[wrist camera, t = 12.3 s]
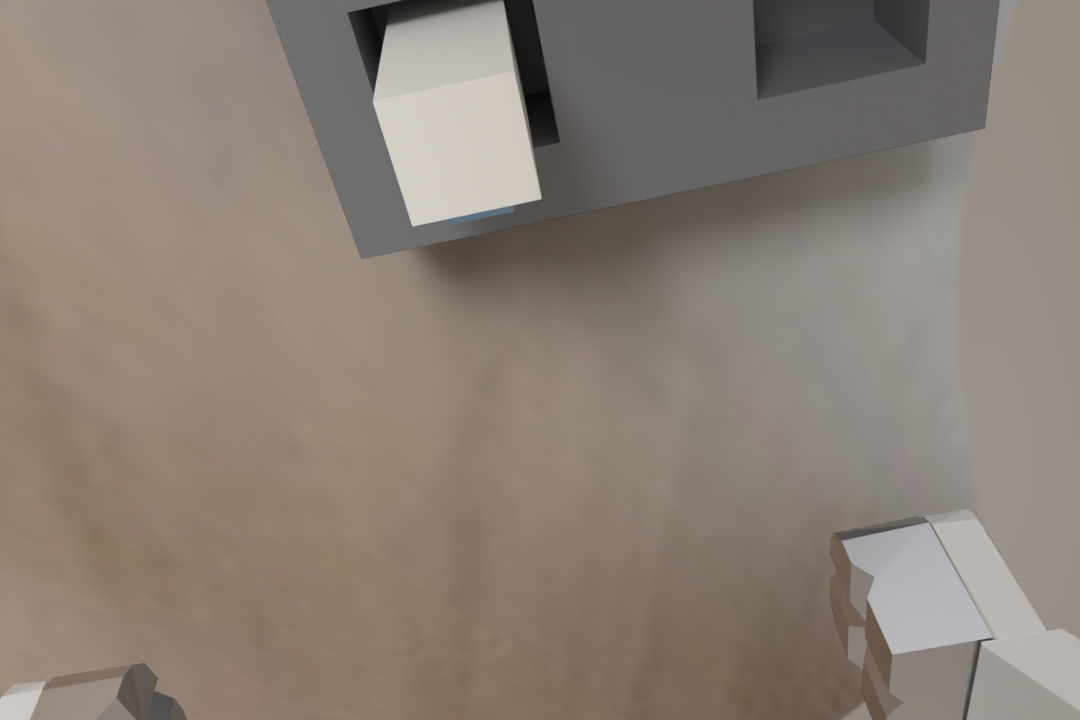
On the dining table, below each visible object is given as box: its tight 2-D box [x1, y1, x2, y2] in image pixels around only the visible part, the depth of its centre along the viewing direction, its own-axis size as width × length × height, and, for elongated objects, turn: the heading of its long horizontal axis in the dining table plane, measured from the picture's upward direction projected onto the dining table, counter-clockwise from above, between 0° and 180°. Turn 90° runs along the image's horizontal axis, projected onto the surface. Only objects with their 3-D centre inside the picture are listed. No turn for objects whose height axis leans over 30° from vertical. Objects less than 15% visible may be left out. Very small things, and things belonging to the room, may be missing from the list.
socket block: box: [266, 0, 1000, 259], centre depth 28 cm, size 10×20×5 cm, turn 101°
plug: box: [373, 0, 542, 227], centre depth 26 cm, size 4×3×9 cm
